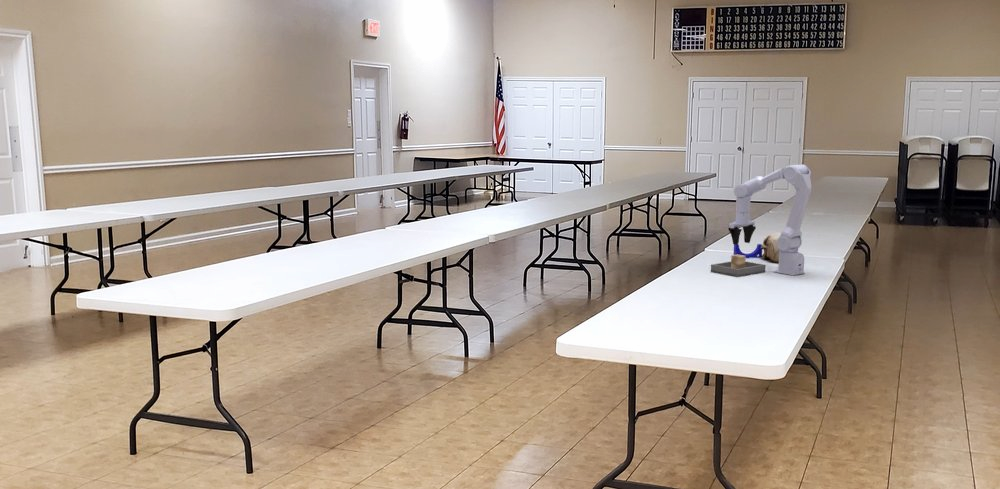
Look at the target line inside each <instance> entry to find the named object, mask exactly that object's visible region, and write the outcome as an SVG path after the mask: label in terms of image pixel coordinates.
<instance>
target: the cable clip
mask: <svg viewBox="0 0 1000 489" xmlns="http://www.w3.org/2000/svg"><path fill="white" fill-rule="evenodd" d="M762 244H763V243H757V245H756V248H755V250H753V251H752V252H749V253H744V252H743V251H742V250H741V249H740V245H739V244H738V245H735V244H733V255H737V254H738V255H744V256H746V258H745V259H753V258H754V259H756V258H757V259H760V258H761V259H762V255H763V249H761V246H762Z"/></svg>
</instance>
